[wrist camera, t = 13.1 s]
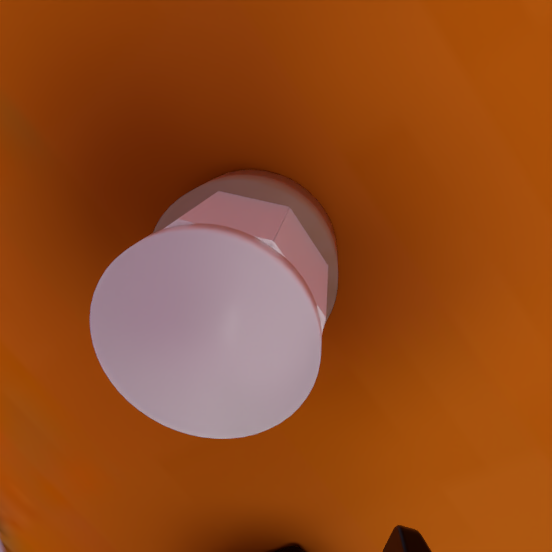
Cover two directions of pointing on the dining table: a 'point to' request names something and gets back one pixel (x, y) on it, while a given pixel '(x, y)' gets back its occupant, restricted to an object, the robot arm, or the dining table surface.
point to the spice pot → (272, 191)
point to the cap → (215, 318)
